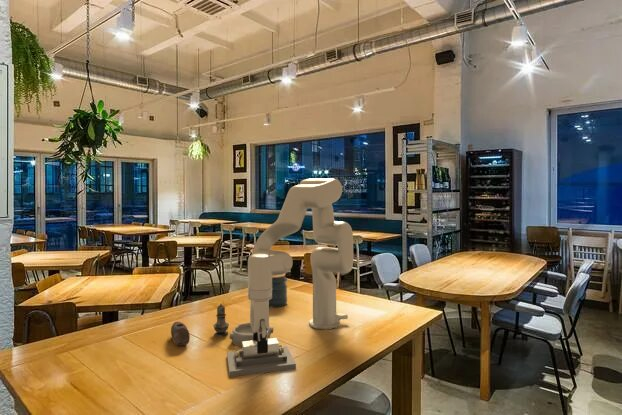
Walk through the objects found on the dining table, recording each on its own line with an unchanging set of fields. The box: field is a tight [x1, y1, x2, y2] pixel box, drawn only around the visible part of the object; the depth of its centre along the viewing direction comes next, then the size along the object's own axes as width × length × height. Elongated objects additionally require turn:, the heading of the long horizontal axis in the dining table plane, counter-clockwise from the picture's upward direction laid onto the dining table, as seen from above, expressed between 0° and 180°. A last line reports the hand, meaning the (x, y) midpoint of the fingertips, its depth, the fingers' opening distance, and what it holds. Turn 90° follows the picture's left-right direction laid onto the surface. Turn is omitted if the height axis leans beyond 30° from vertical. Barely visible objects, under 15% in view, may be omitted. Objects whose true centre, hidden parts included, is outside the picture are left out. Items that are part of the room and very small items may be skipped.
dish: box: [229, 322, 274, 348], centre depth 142 cm, size 14×14×5 cm
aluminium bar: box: [241, 337, 280, 360], centre depth 124 cm, size 4×11×5 cm, turn 107°
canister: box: [269, 273, 288, 308], centre depth 188 cm, size 13×13×18 cm
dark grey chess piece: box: [212, 303, 230, 338], centre depth 148 cm, size 6×6×12 cm
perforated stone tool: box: [170, 321, 190, 347], centre depth 142 cm, size 15×5×7 cm, turn 28°
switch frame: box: [226, 344, 297, 377], centre depth 124 cm, size 20×14×4 cm
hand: (260, 346), depth 124 cm, fingers open, 9 cm apart
